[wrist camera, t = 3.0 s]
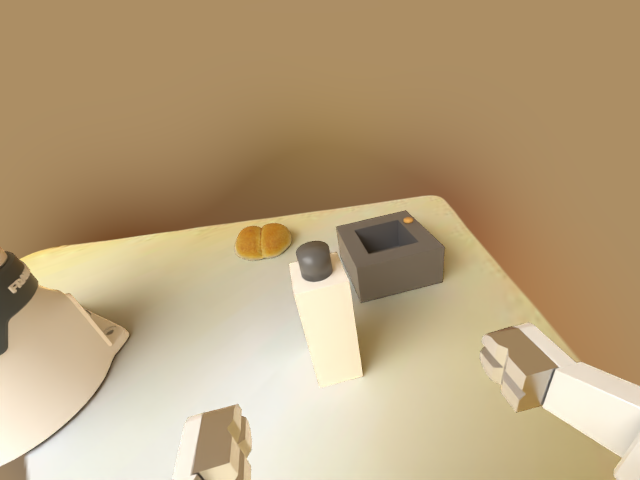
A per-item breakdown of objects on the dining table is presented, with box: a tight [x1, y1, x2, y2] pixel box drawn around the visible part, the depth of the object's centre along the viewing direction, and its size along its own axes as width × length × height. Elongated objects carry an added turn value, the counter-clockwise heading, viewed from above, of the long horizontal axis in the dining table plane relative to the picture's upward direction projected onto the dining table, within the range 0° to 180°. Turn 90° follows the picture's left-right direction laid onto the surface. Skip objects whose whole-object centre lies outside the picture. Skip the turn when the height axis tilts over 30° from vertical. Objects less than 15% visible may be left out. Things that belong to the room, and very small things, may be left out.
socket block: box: [336, 210, 445, 303], centre depth 38 cm, size 10×10×5 cm
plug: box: [289, 241, 363, 388], centre depth 25 cm, size 4×4×13 cm
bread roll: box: [234, 223, 291, 261], centre depth 48 cm, size 8×9×4 cm
